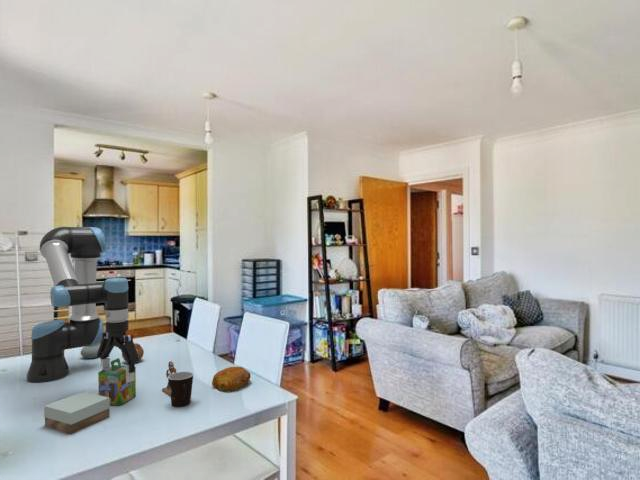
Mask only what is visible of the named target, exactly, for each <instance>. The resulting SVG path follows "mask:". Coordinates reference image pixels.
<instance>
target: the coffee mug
mask: <svg viewBox="0 0 640 480" xmlns="http://www.w3.org/2000/svg"><path fill="white" fill-rule="evenodd" d="M170 374H171V373H170ZM167 381H168V382H169V389H170V396H169V397H170V403H171V407H173V408H183V407H186V406H187V407H188V406H189V405H190V403H191V398H192V391H193V381H194V373H193V372H192V371H191V372H190V371H176V373H174V372H173V373H172V374H171V375H169V376H168V378H167ZM168 382H167V383H168Z"/></svg>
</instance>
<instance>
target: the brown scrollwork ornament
mask: <svg viewBox="0 0 640 480" xmlns="http://www.w3.org/2000/svg"><path fill="white" fill-rule="evenodd" d="M167 367H168V369H167V370H166V373H165V375H166V378H167V379H168V376H169V375H171V374H173V373H177V368H176V367H175V366H174V362H173V361H172V360H171V361H168V366H167ZM161 392H162V393H164V394H165V395H167V396H168V397H170V389H169V382H167V384H166V387H163V388H162V389H161Z"/></svg>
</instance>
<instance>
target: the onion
mask: <svg viewBox="0 0 640 480" xmlns="http://www.w3.org/2000/svg"><path fill="white" fill-rule="evenodd" d="M134 345H135V348H136V351H137V354H138V358H139V361H141V360H142V359H143V357H144V354H145V353H144V348H143V347H142V346H141V344H139V343H137V342H136V343H135V342H134ZM121 357H122V359H123V361H124V362H126V363H127V361H126V359H125V357H124V355H123V353H122V352H121ZM139 361H138V362H139ZM135 363H137V362H135Z"/></svg>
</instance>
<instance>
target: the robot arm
mask: <svg viewBox="0 0 640 480" xmlns="http://www.w3.org/2000/svg"><path fill="white" fill-rule="evenodd" d="M106 248H107V247H106V239H105V234H104V232H103V231H102V229H101V228H99V227H94V226H93V227H92V226H59V227H55V228H53V229H50V230H49V231H47V233H46V234H44V235H43V237H42V238H41V240H40V242H39V251H40V255H41V256H42V257H43V258H44V259H45V261H46V264H47V267H48V270H49V273H50V277H51V279H52V283H53V285H54V286H52V287H51V289H50V296H49V297H50V303H51V306H53V307H54V308H60V307H64V308H67V307H72V306H73V313H72V314H71V315H70V317H69V322H65V320H64V319H56V320H55V319H52V320H47V321H44V322H41V323H38V324H36V325H34V326H33V327H32V329H31V335H30V336H31V337H30V339H31V361H30V365H29V368H28V370H27V374H26V381H27V382H29V383H44V382H51V381H56V380H59V379H62V378H65V377H67V376H68V375H69V374H70V367H69V365H68V363H67V360H66V357H65V350H70V349H71V350H72V349H77V348H81V347H82V348H83V347H85V346H90V345H94V344H97V343H99V342H100V347H99V350H98V353H97V356H98V357H97V358H99V359H100V361H101V362H100V363H101V365H100V367H101V371H102V370H104V369H107V368H109V367H111V361H110V360H111V358H110V354H111V353H112V351H113V349H114V347H116V348H118V349H119V350H120V351H121V354H122V353H123V355H124V357H125V359H126V361H127V362H126V361H125V362H126V363H125V365H126V383H128V382H131V381H134V371H135V367H136V365H135V362H136V363H139V358H138V354H137V351H136V348H135V345H134V344H135V342H134V337H133V334H128V335H127V331H128V330H129V320H128V319H129V282H128V281H129V280H128V279H127V278H126V277H123V278H122V277H114V278H113V277H112V278H107V279H106V280H105V281H102V282H97V264H98V263H97V261H98V260H99V259H101V256H102V255H101V254H103V253H105V251H106ZM69 255H70V257H69ZM70 258H71V259H72V260H73V261H74V266H73V264H72V262H71V259H70ZM73 267H74V268H73ZM101 303H104V306H105V308H104V309H105V321H106V322H105V325H104V320H103V319H102V318H100V314H98V313H97V312H96V309H97V305H96V304H101ZM104 326H105V327H104ZM104 329H105V332H104ZM101 352H102V353H101Z"/></svg>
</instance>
